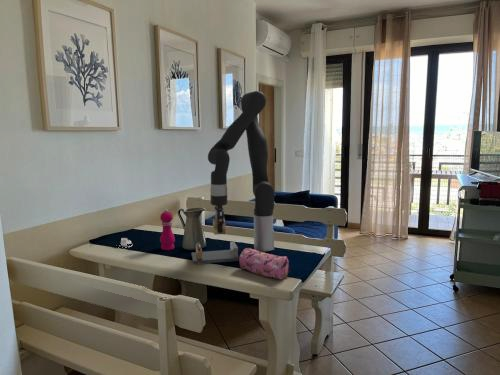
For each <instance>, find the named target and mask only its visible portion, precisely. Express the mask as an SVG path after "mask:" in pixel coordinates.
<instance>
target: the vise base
mask: <svg viewBox="0 0 500 375" xmlns="http://www.w3.org/2000/svg"><path fill="white" fill-rule="evenodd" d="M229 242H230V243H229V249H224V250H223V249H222V250H208V251H202V259H198V258H197V254H196V251H195V252H191V258H192V264H193V265H202V264H203V265H204V264H216V263H229V262H239V257H240V256H239V247H238V245H237V244H236V243H235V241H229Z"/></svg>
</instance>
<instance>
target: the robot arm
mask: <svg viewBox="0 0 500 375" xmlns="http://www.w3.org/2000/svg"><path fill="white" fill-rule="evenodd" d="M266 104H267V98H266V95H265V94H264V93H263V92H262V91H259V90H254V91H250V92H246V93H245V94H243V95H242V96H241V99H240V106H241V113H240V115H239V116H238V117H236V119H234V121H233V122H232V123H231V124H230V125H229V126H228V127H227V128H226V130H225V131H224V134H223V135H222V136H221V138H220V139H219V140H218V141H217V142H216V143H215V144H213V146H212V147H211V148H210V150H209V152H208V154H207V160H208V162H209V163H210V164H212V165H215V167H214V170H211V172H210V188H209V189H210V190H209V191H210V205H211V206H214V208H213V209H214V219H217V225H218V233H222V232H223V224H224V220H225V209H224V207H223V206H226V205H228V184H227V181H228V177H227V174H228V171H229V166H230V160H231V159H230V154H229V152H228V151H230V150H233V149H234V148H235V146H236V145H237V143H238V142H239V141H240V139H241V138H242V136H243V135H244V133H246V141H247V150H248V152H247V153H248V156H249V157H248V158H249V163H250V167H251V172H252V173H251V174H252V193H253V196H254V198H255V199H254V209H253V249H254V250H257V251H260V252H271V251H274V250H275V230H274V210H275V209H274V208H275V190H274V187H273V185H272V184H271V183H270V181H269V176H268V161H269V160H268V158H269V150H268V141H267V137H266V135H265V133H264V131H263V129H262V127H261V126H260V123H259V117H258V116H259V114H260V113H261V112H262V111H263V109H264V108H265V107H266ZM220 219H221V220H222V221H219V220H220Z"/></svg>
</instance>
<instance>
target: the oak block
mask: <svg viewBox="0 0 500 375" xmlns="http://www.w3.org/2000/svg"><path fill="white" fill-rule="evenodd" d="M219 221H222V220H221V219H220V220H219ZM212 233H213V234H214V235H217V236H218V235H226V219H224V224H223V232H222V233H218V225H217V219H215V218H212Z"/></svg>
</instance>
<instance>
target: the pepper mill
mask: <svg viewBox="0 0 500 375" xmlns="http://www.w3.org/2000/svg"><path fill="white" fill-rule="evenodd" d="M173 217H174V216H173V214H172V212H170V211H169V209H167V208H164V212H162V213H161V214H160V217H159V218H160V221H161V226H162V232H161V235H160V238H159V243H161V246H160V248H161V250H162V251H171V250H174V248H175V244H174V243H175V242H176V239H175V235H174V234H175V233H173V230H172V225H173V221H172V220H173V219H174V218H173Z"/></svg>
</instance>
